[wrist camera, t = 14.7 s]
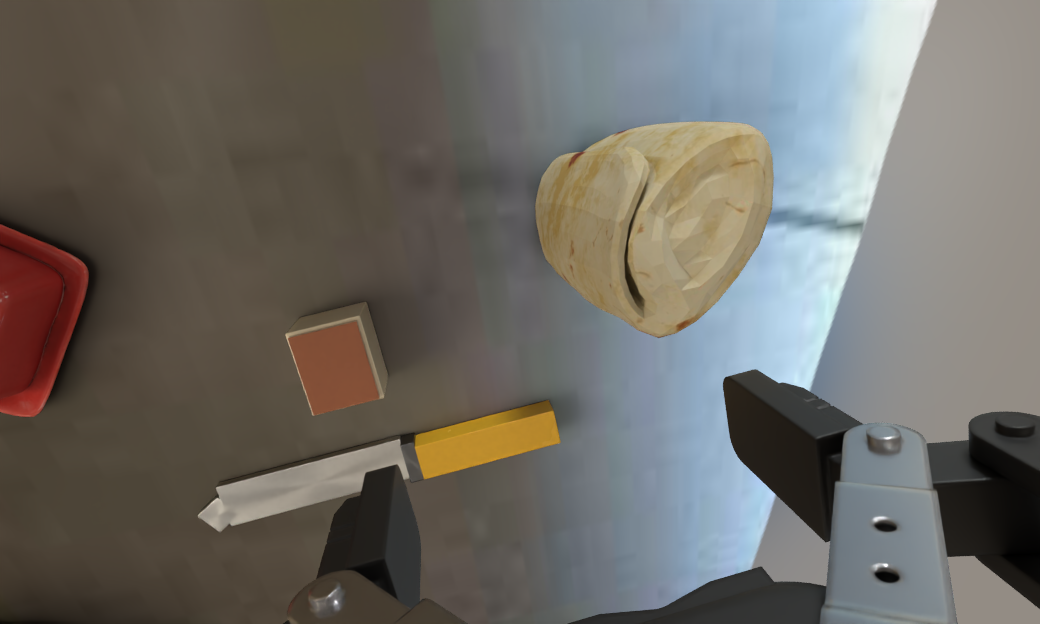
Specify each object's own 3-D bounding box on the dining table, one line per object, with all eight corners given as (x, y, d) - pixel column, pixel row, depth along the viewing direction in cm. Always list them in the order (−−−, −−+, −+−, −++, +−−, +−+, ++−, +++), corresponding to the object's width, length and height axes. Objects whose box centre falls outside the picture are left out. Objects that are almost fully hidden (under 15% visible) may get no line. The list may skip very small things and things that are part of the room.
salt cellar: (323, 393, 42) (311, 419, 38) (298, 317, 41) (282, 336, 36) (388, 376, 42) (383, 401, 38) (366, 301, 41) (358, 317, 37)
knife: (209, 530, 43) (198, 547, 41) (192, 489, 42) (180, 504, 40) (556, 437, 45) (562, 449, 43) (547, 395, 44) (552, 406, 42)
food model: (586, 283, 43) (714, 382, 24) (502, 243, 41) (565, 313, 22) (652, 156, 41) (845, 150, 22) (567, 109, 40) (695, 59, 21)
